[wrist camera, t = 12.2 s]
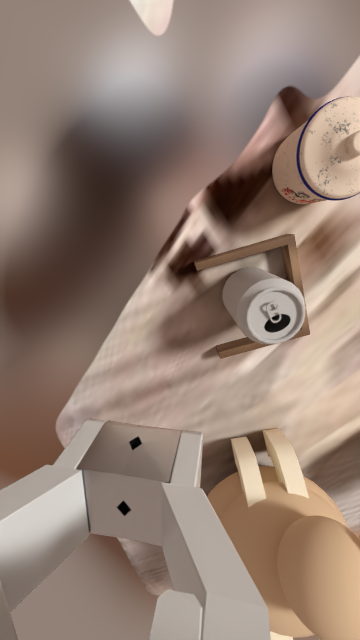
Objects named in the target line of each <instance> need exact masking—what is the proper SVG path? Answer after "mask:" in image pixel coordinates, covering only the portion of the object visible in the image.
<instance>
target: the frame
mask: <svg viewBox="0 0 360 640" xmlns="http://www.w3.org/2000/svg"><path fill="white" fill-rule="evenodd" d="M278 247H282V253H283V259H284V265H285V271H286V276H287V281H289V282H291V283H292V284H294V285H295V286H296V287H297V288H298V289H299V290H300V292H301V294H302V296H303V297H304V292H303V286H302V280H301V273H300V267H299V261H298V254H297V248H296V242H295V235H294V234H285V235H282V236H279V237H275V238H272V239H268V240H265V241H261V242H258V243H255V244H251V245H248V246H244V247H241V248H237V249H234V250H230V251H227V252H224V253H220V254H217V255H213V256H210V257H206V258H203V259H200V260H196V261H194V264H195V268H196V270H197V271H198V270H201V269H205V268H208V267H212V266H215V265H219V264H222V263H226V262H229V261H233V260H236V259H239V258H243V257H246V256H250V255H253V254H257V253H260V252H264V251H267V250H271V249H274V248H278ZM304 302H305V299H304ZM305 312H306V313H305V319H304V323H303V325H302V327H301V328H300V330H299V331H298V332H297V333H296V334H295V335H294V336H293V337H292V338H290V339H289V340H291V339H295V338H298V337H302V336H306V335H309V334H310V330H309V324H308V318H307V311H306V305H305ZM269 345H273V344H260V343H257V342H254V341H252V340H251V339H249V338H248V337H246V338H243V339H239V340H235V341H232V342H228V343H224V344H221V345H217V346H216V347H217V351H218V354H219V356H220V359H221V358H225V357H228V356H232V355H236V354H239V353H243V352H247V351H250V350H254V349H258V348H262V347H265V346H269Z"/></svg>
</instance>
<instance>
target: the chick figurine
mask: <svg viewBox="0 0 360 640" xmlns="http://www.w3.org/2000/svg"><path fill="white" fill-rule="evenodd" d="M263 434H264V439H265V443H266V447H267V452H268V456H270V457H271V459H272V462H273V464H274V467H271V466H260V467H258V463H257V460H256V457H255V454H254V451H253V449H252V447H251V445H250V443H249V440H248V439H247V437H239V438H233V439H231V443H232V448H233V453H234V458H235V464H236V466H237V469H238V472H236V473H233V474H231V475H230V476H228V477H227V478H225V479H223V480H222V481H221V482H219V483H218V484H217V485H216V486H215V487H214V488H213V489H212V490H211V492H210V493H209V494H208V496H207V498H208V500H209V502H210V504H211V505H212V507H213V509H214V511H215V513H216V515H217V516H218V518H219V520H220V522H221V524H222V525H223V527H224V529H225V531H226V533H227V535H228V536H229V538H230V540H231V542H232V544H233V545H234V547H235V549H236V551H237V553H238V555H239V556H240V558H241V560H242V562H243V564H244V566H245V567H246V569H247V571H248V573H249V575H250V576H251V578H252V580H253V582H254V584H255V586H256V587H257V589H258V591H259V593H260V595H261V596H262V598H263V600H264V602H265V604H266V606H267V607H268V615H269V626H270V636H271V640H293V637H307V636H310V635H316V636H318V637H319V639H320V640H360V538H359V537H358V536H357V535H356V534H355V533H354V532H353V531H352V530H350V529H349V528H348V526H347V524H346V521H345V519H344V517H343V515H342V513H341V512H340V510H339V509H338V507H337V505H336V504H335V503H334V502H333V500H332V499H331V498H330V497H329V496H328V494H327V493H326V492H325V491H323V490H322V489H321V488H320V487H319V486H318V485H317V484H315V483H314V482H312V481H311V480H309V479H308V478H306V477H305V476H303V474H302V471H301V468H300V465H299V462H298V459H297V457H296V454H295V452H294V449H293V447H292V446H291V444H290V442H289V440H288V439H287V438H286V436H285V435H284V434H283V432H282V431H281V430H279V429H278V428H276V429H270V430H263Z"/></svg>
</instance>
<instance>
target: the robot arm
mask: <svg viewBox="0 0 360 640" xmlns="http://www.w3.org/2000/svg"><path fill="white" fill-rule="evenodd" d="M202 446H203V433H202V432H197V431H187V430H183V431H182V430H174V429H165V428H157V427H148V426H141V425H135V424H128V423H121V422H115V421H106V420H99V419H92V418H90V419H88V420H86V421H85V422H84V423H83V425H82V426H81V428H80V429H79V430H78V432H77V433H76V434H75V436H74V437H73V438H72V440H71V441H70V443H69V444H68V445H67V447H66V448H65V449H64V451H63V452H62V453H61V455H60V456H59V458H58V459H57V460H56V462H55V463H54V464H53V466H51V465H45V466H44V467H42V468H40V469H38V470H36V471H35V472H33V473H31V474H29V475H28V476H26V477H24V478H22V479H20V480H18V481H17V482H15V483H13V484H12V485H10V486H8V487H6V488H4V489H2V490H1V491H0V640H18V638H17V634H16V631H15V628H14V624H13V621H12V617H11V614H10V612H11V611H12V610H13V609H14V608H16V607H17V606H18V605H19V604H20V603H21V602H22V601H23V600H24V599H25V598H26V597H27V596H28V595H29V594H30V593H31V592H32V591H33V590H34V589H35V588H36V587H37V586H38V585H39V584H40V583H41V582H42V581H43V580H44V579H45V578H46V577H47V576H48V575H49V574H50V573H51V572H52V571H54V570H55V569H56V568H57V567H58V566H59V565H60V564H61V563H62V562H63V561H64V560H65V559H66V558H67V557H68V556H69V555H70V554H71V553H72V552H73V551H74V550H75V549H76V548H77V547H78V546H79V545H80V544H81V543H82V542H83V541H84V540H85V539H86V538H87V537H88V536H89V533H93V534H99V535H106V536H113V537H119V538H126V539H130V540H135V541H139V542H144V543H148V544H153V545H157V546H162V550H163V553H164V557H165V560H166V564H167V568H168V571H169V575H170V578H171V582H172V586H173V589H174V591H173V590H168V589H167V590H166V591H165V592H164V593H163V594H162V595H161V596H159V597H158V600H157V605H156V610H155V615H154V619H153V625H152V630H151V634H150V639H149V640H271V636H270V626H269V615H268V607H267V606H266V604H265V602H264V600H263V598H262V596H261V595H260V593H259V591H258V589H257V587H256V586H255V584H254V582H253V580H252V578H251V576H250V575H249V573H248V571H247V569H246V567H245V566H244V564H243V562H242V560H241V558H240V556H239V555H238V553H237V551H236V549H235V547H234V545H233V544H232V542H231V540H230V538H229V536H228V535H227V533H226V531H225V529H224V527H223V525H222V524H221V522H220V520H219V518H218V516H217V515H216V513H215V511H214V509H213V507H212V505H211V504H210V502H209V500H208V498H207V496H206V494H205V493H204V491H203V489H201V488H200V480H201V465H202Z"/></svg>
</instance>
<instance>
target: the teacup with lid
mask: <svg viewBox="0 0 360 640" xmlns="http://www.w3.org/2000/svg"><path fill="white" fill-rule="evenodd" d="M272 175H273V181H274V184H275V186H276V188H277V190H278V192H279V193H280V194H281V195H282V196H283V197H284V198H285V199H287V200H288V201H290V202H293V203H296V204H309V203H314V202H320V201H325V200H343V199H347V198H351V197H353V196H355V195H357V194H359V193H360V97H357V96H347V97H341V98H337V99H334V100H332V101H330V102H328V103H326V104H325V105H323V106H322V107H320V108H319V109H318V110H317V111H316V112H315V113H314V114H313V115H312V116H311V117H310V119H309V120H308V121H307V122H306V123H304V124H303V125H302V126H301V127H299V128H298V129H297V130H296V131H294V132H293V133H292V134H291V135H289V136H288V137H287V138H286V139H285V140H284V141H283V142H282V144H281V145H280V146H279V148H278V150H277V152H276V154H275V157H274V160H273V166H272Z"/></svg>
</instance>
